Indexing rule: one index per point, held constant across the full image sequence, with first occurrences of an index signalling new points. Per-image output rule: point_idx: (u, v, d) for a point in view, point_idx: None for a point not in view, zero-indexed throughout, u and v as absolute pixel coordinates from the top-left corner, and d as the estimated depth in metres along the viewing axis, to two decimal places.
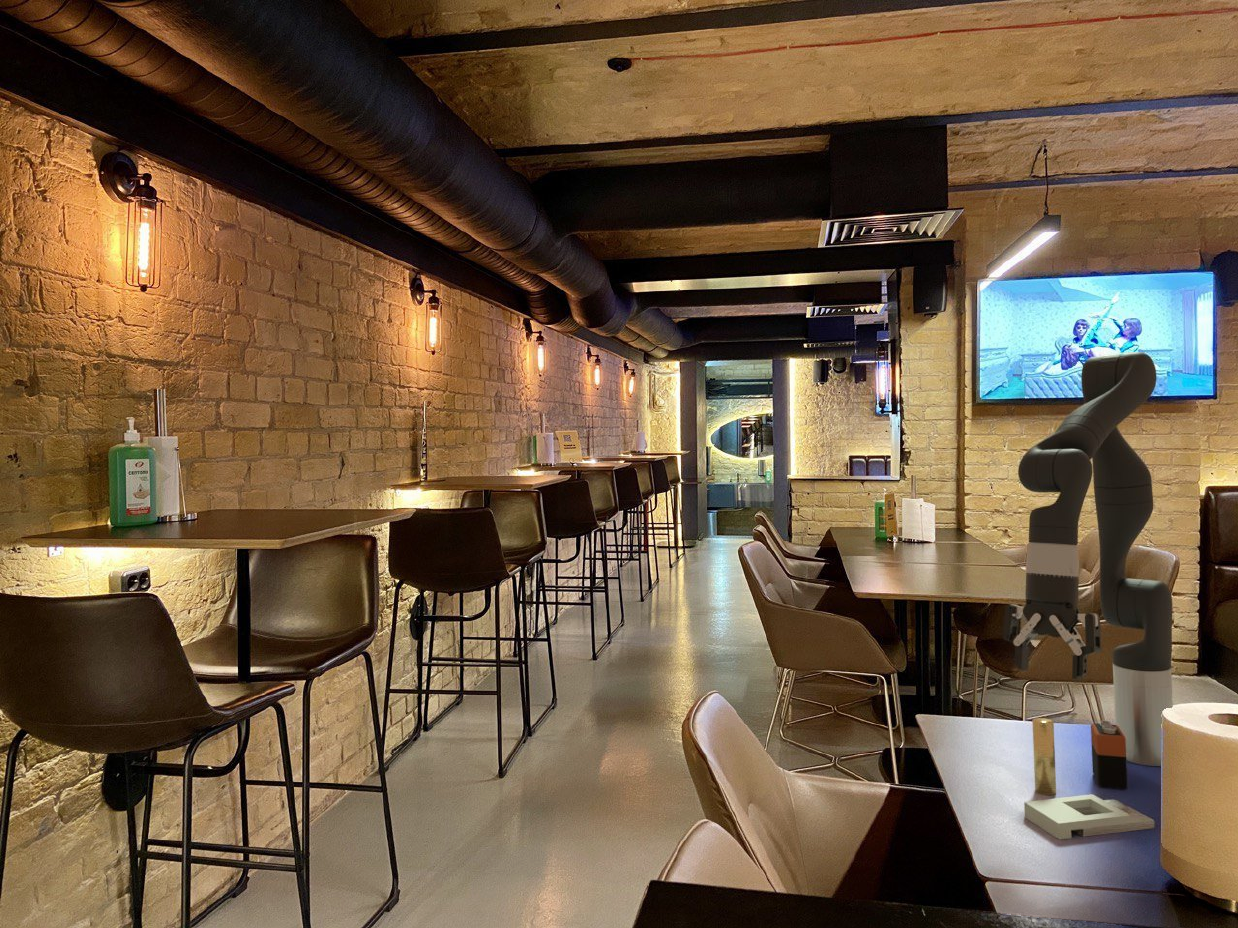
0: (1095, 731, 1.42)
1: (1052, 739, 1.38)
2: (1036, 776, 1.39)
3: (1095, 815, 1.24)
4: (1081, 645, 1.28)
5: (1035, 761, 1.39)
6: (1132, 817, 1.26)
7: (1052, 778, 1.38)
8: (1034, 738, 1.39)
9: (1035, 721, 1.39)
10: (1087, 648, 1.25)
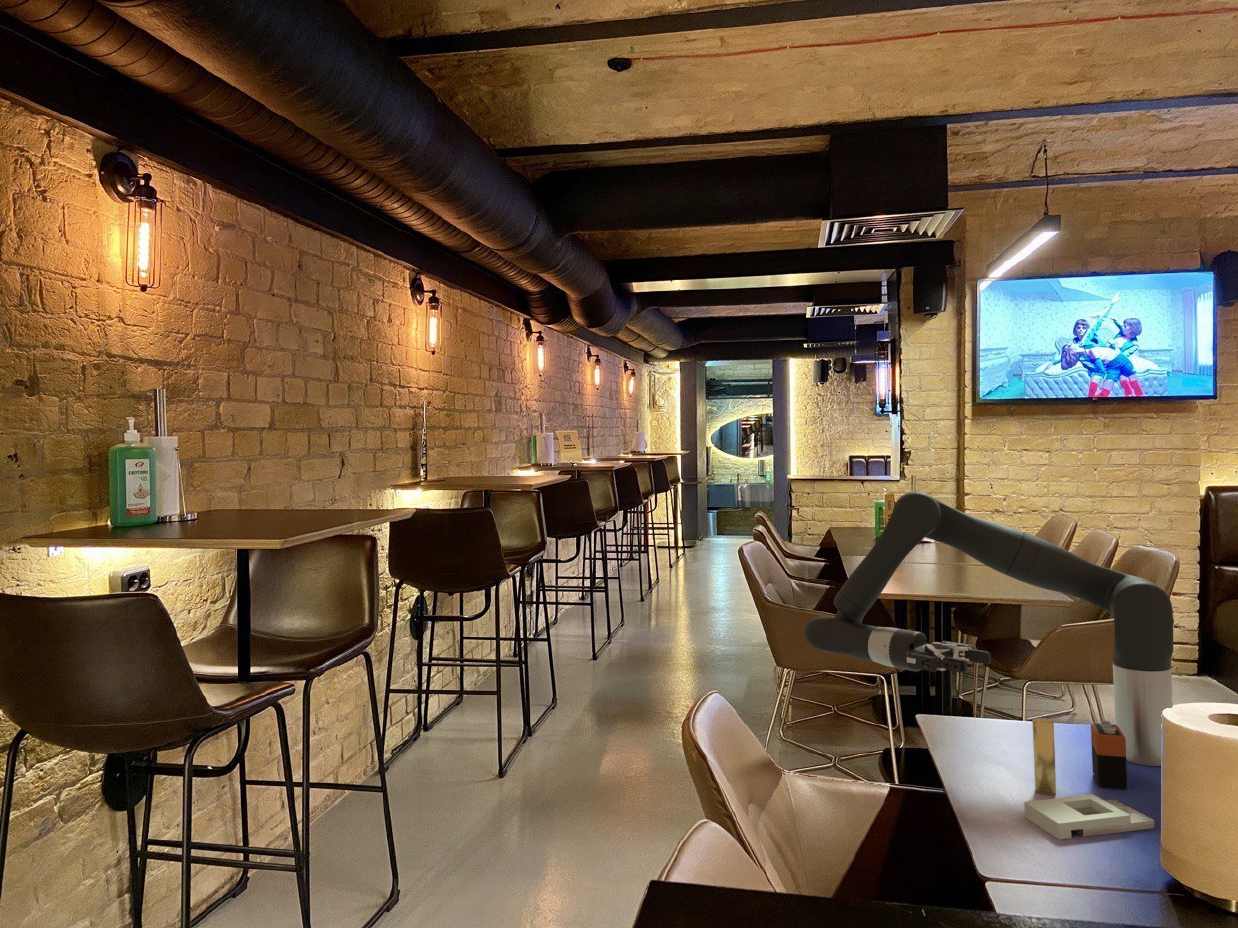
0: (1095, 731, 1.42)
1: (1052, 739, 1.38)
2: (1036, 776, 1.39)
3: (1095, 815, 1.24)
4: None
5: (1035, 761, 1.39)
6: (1132, 817, 1.26)
7: (1052, 778, 1.38)
8: (1034, 738, 1.39)
9: (1035, 721, 1.39)
10: None
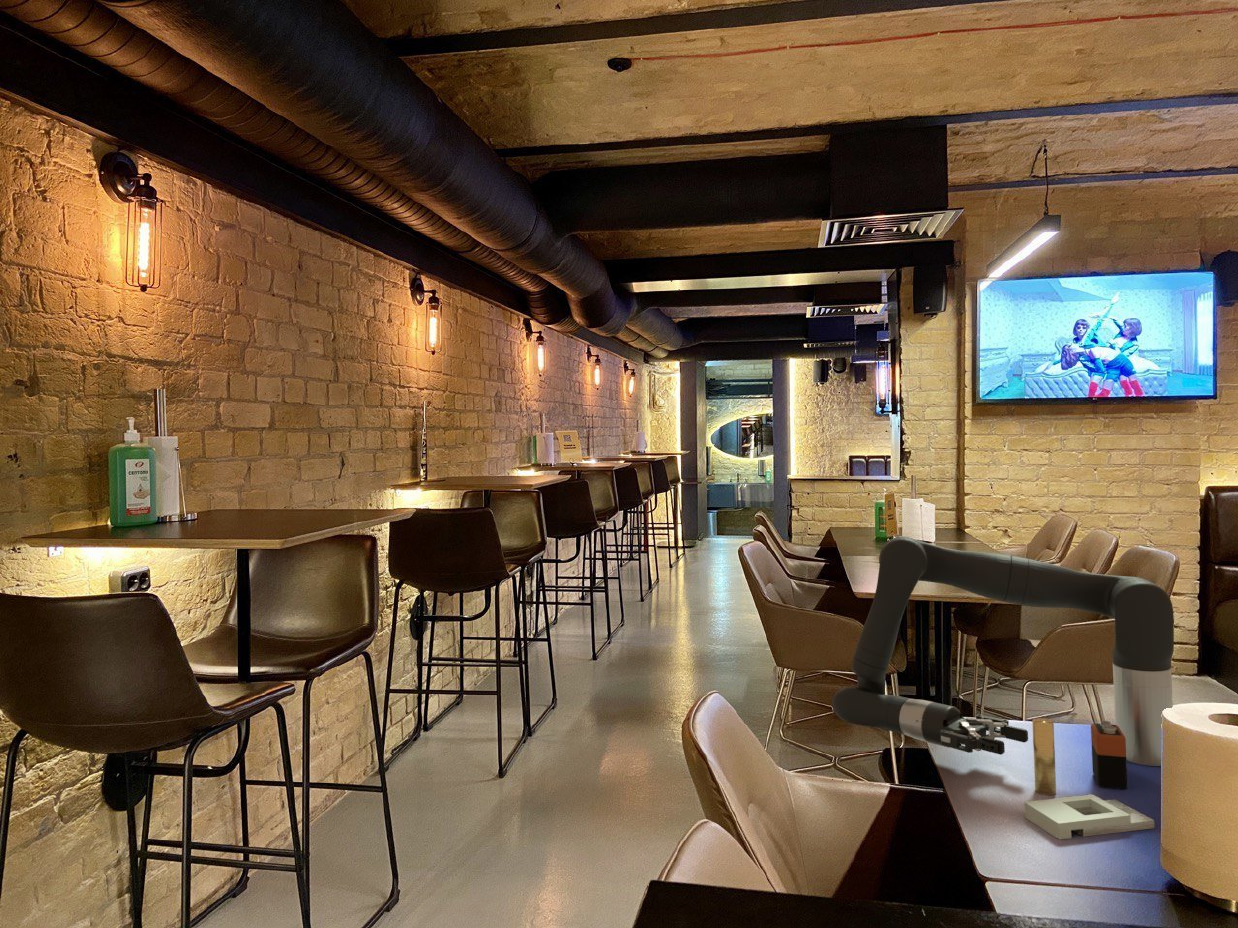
0: (1095, 731, 1.42)
1: (1052, 739, 1.38)
2: (1036, 776, 1.39)
3: (1095, 815, 1.24)
4: None
5: (1035, 761, 1.39)
6: (1132, 817, 1.26)
7: (1052, 778, 1.38)
8: (1034, 738, 1.39)
9: (1035, 721, 1.39)
10: None
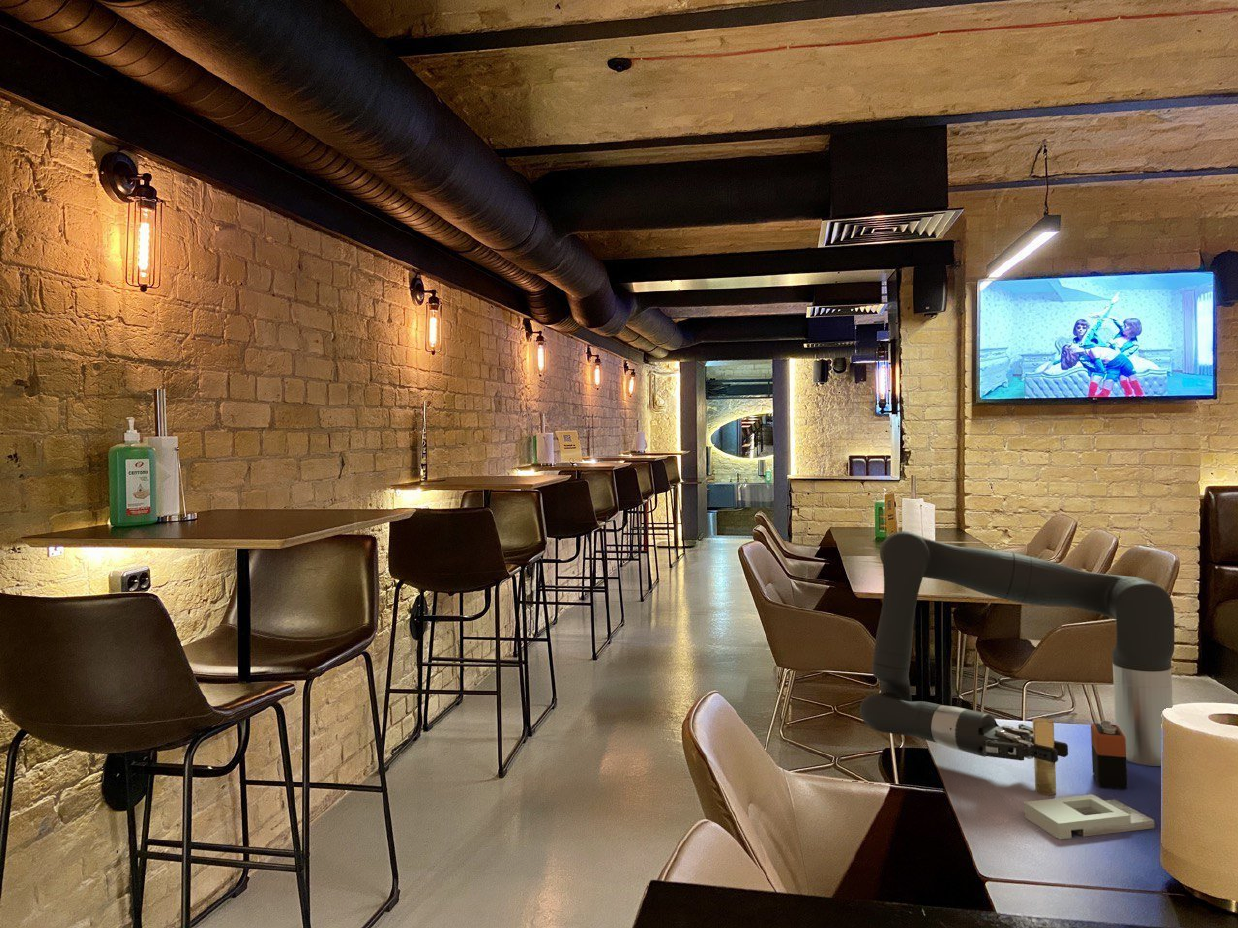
0: (1095, 731, 1.42)
1: (1052, 739, 1.38)
2: (1036, 776, 1.39)
3: (1095, 815, 1.24)
4: None
5: (1035, 761, 1.39)
6: (1132, 817, 1.26)
7: (1052, 778, 1.38)
8: (1034, 738, 1.39)
9: (1035, 721, 1.39)
10: None
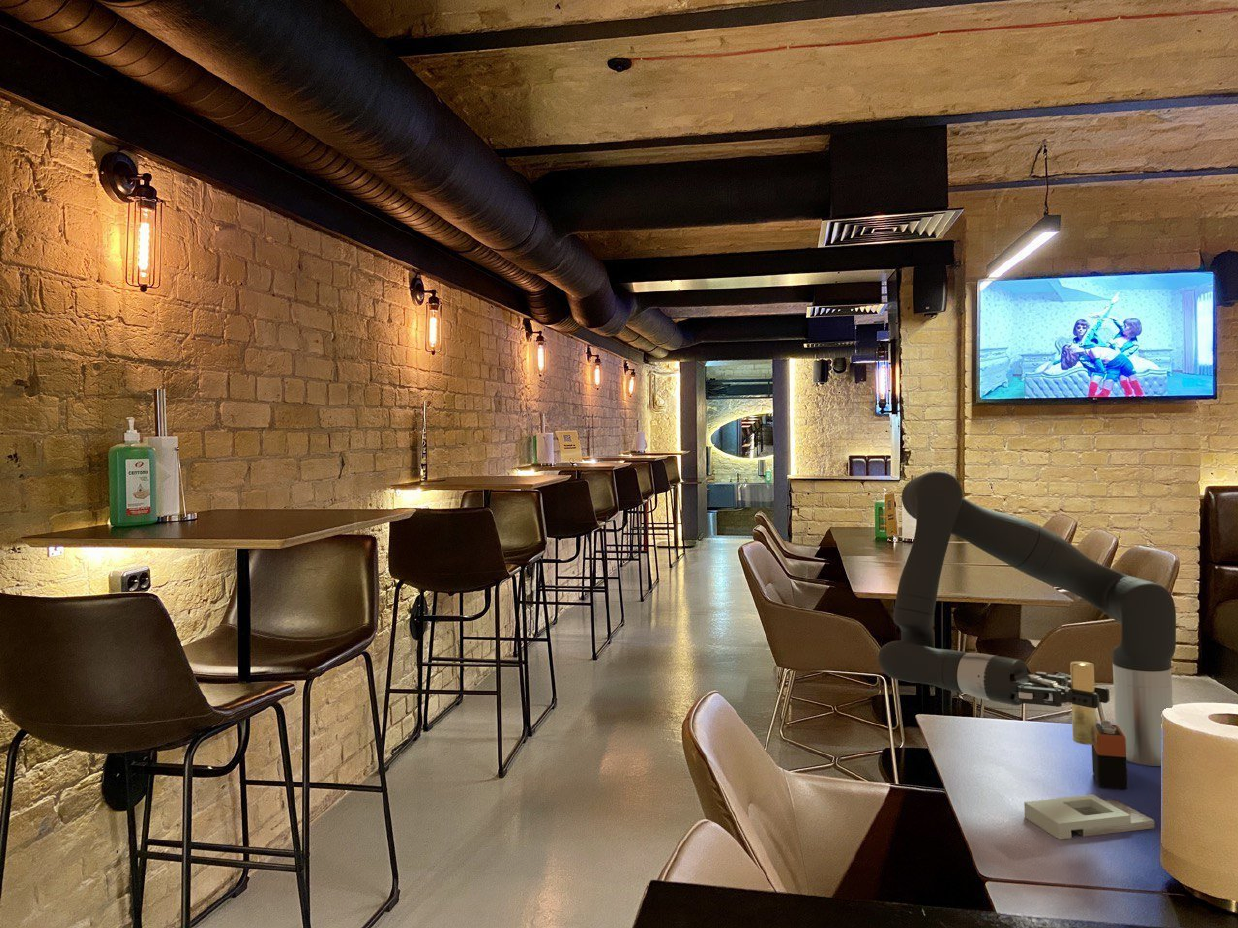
0: None
1: (1092, 683, 1.26)
2: (1074, 724, 1.27)
3: (1095, 815, 1.24)
4: None
5: (1073, 708, 1.27)
6: (1132, 817, 1.26)
7: (1092, 726, 1.26)
8: (1072, 683, 1.27)
9: (1073, 664, 1.27)
10: None
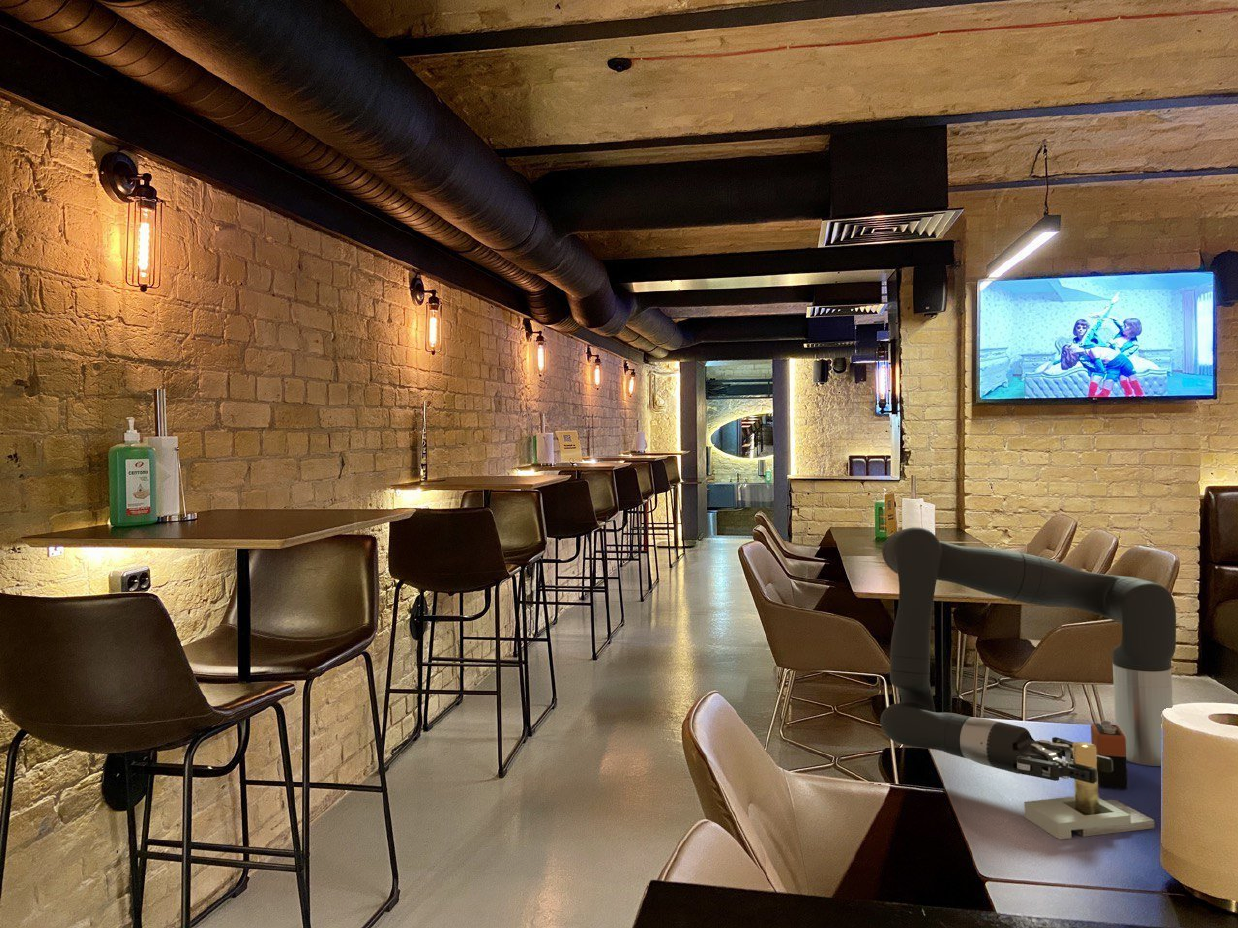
0: (1095, 731, 1.42)
1: (1095, 765, 1.26)
2: (1077, 806, 1.27)
3: (1095, 815, 1.24)
4: None
5: (1076, 789, 1.27)
6: (1132, 817, 1.26)
7: (1095, 808, 1.26)
8: None
9: (1076, 745, 1.27)
10: None
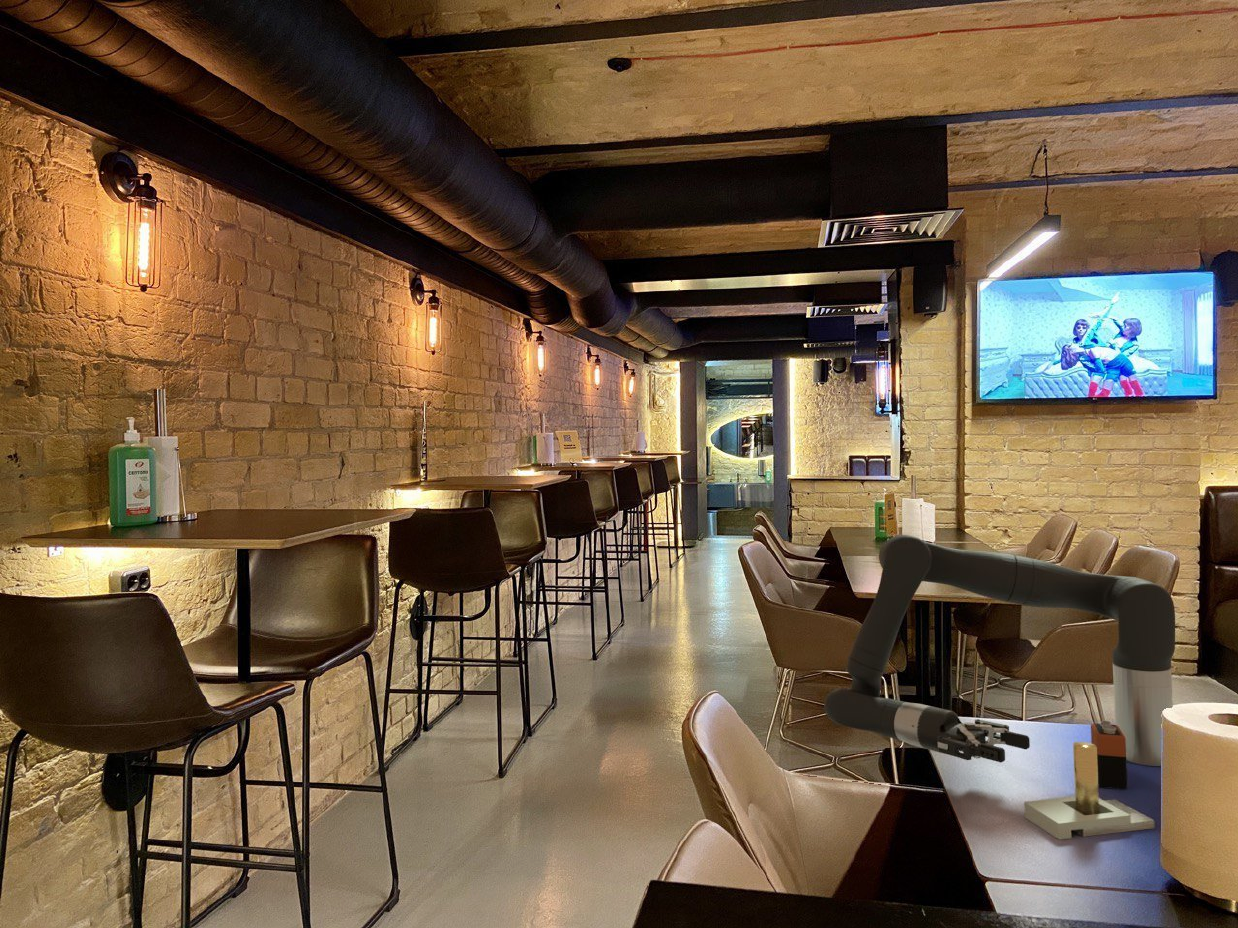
0: (1095, 731, 1.42)
1: (1095, 765, 1.26)
2: (1077, 806, 1.27)
3: (1095, 815, 1.24)
4: None
5: (1076, 789, 1.27)
6: (1132, 817, 1.26)
7: (1095, 808, 1.26)
8: (1075, 764, 1.27)
9: (1076, 745, 1.27)
10: None
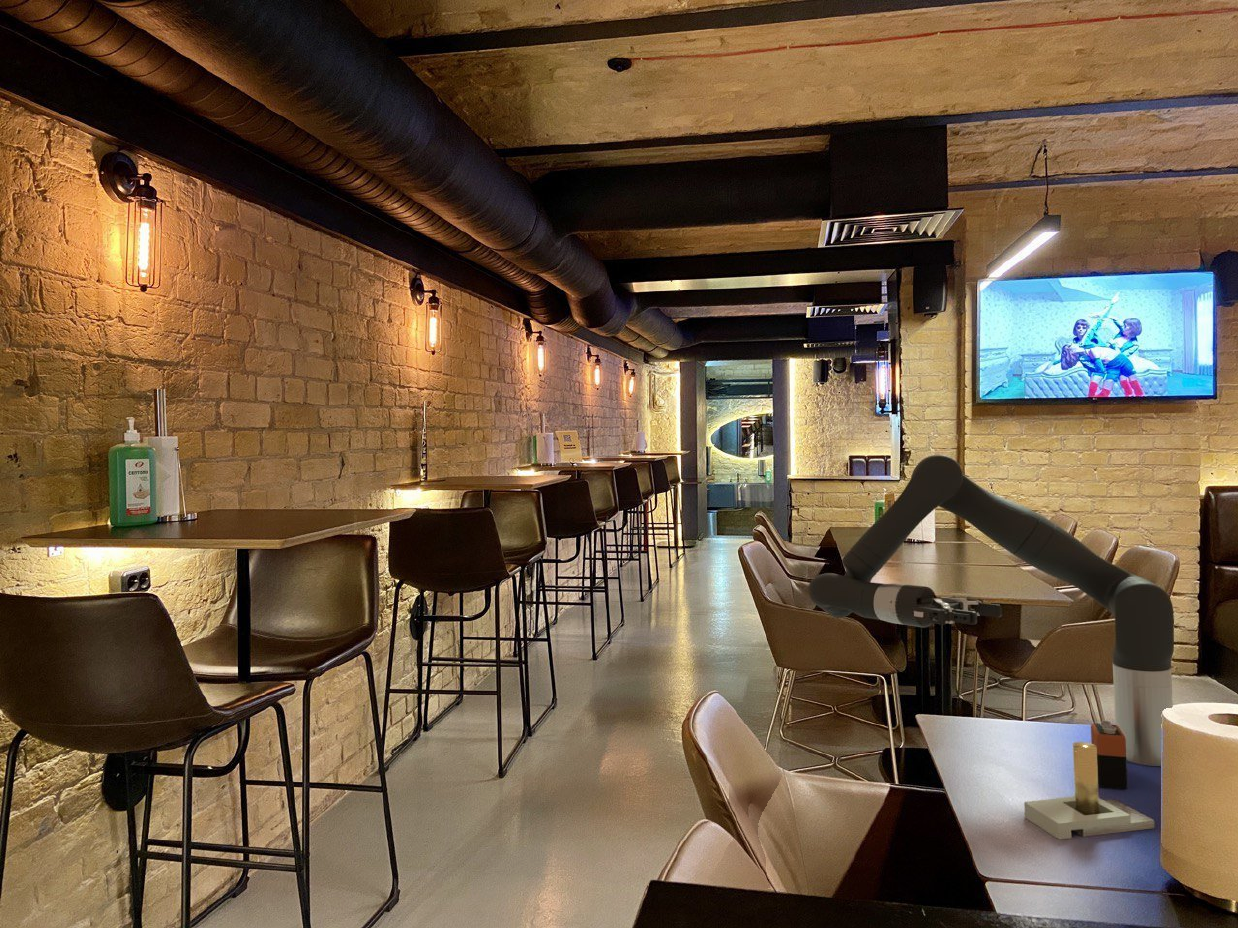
0: (1095, 731, 1.42)
1: (1095, 765, 1.26)
2: (1077, 806, 1.27)
3: (1095, 815, 1.24)
4: None
5: (1076, 789, 1.27)
6: (1132, 817, 1.26)
7: (1095, 808, 1.26)
8: (1075, 764, 1.27)
9: (1076, 746, 1.27)
10: None
